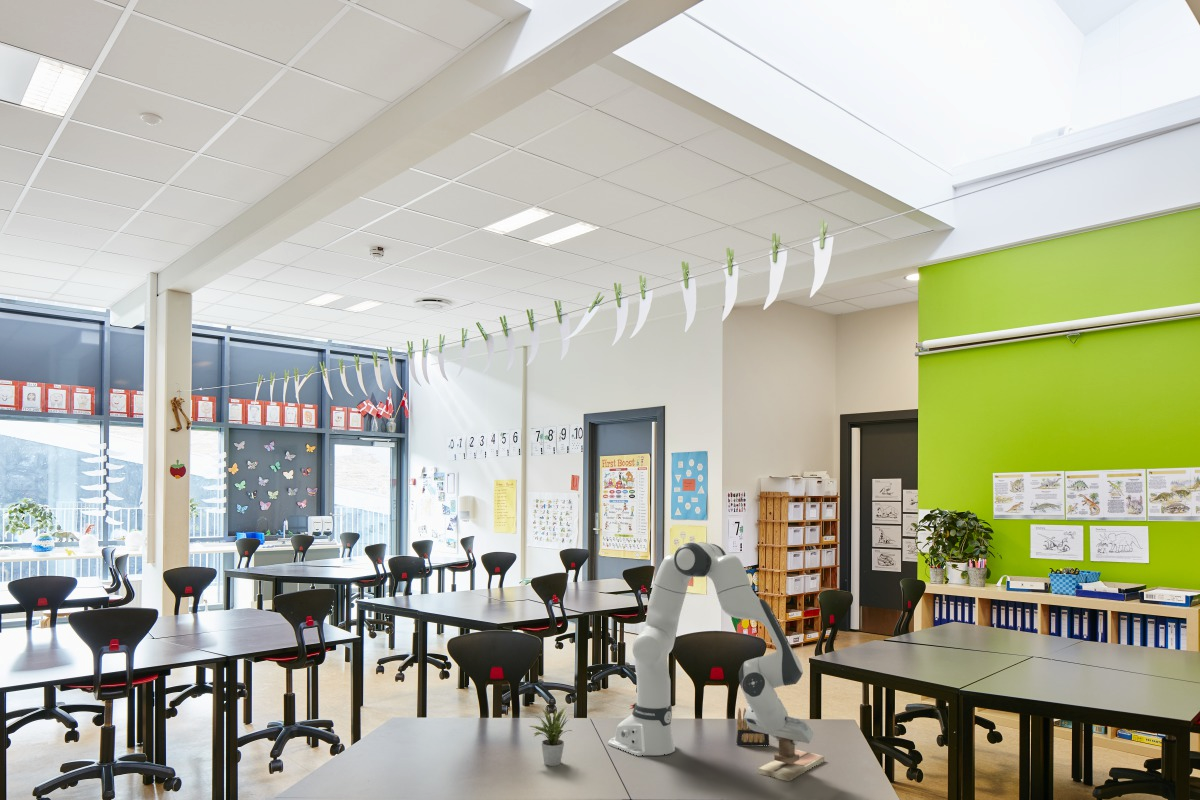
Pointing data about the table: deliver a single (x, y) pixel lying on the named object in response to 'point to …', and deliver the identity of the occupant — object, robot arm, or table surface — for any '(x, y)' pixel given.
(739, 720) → the ammunition clip
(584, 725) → the table surface
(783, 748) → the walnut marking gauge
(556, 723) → the house plant
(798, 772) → the maple board
